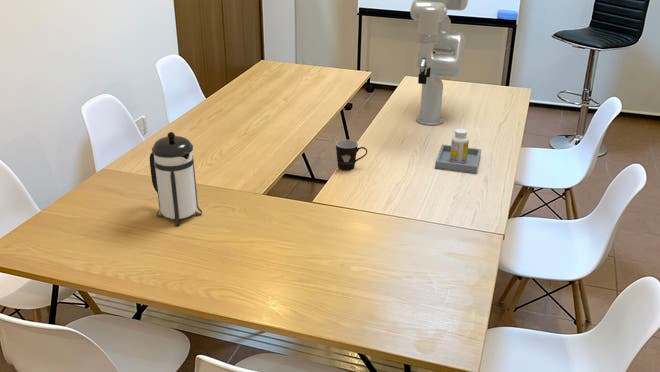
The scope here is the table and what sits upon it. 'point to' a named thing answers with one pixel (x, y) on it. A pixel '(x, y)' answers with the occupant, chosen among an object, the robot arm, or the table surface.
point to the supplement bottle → (459, 146)
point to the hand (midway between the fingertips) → (424, 80)
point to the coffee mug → (347, 154)
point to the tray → (468, 166)
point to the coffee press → (174, 177)
